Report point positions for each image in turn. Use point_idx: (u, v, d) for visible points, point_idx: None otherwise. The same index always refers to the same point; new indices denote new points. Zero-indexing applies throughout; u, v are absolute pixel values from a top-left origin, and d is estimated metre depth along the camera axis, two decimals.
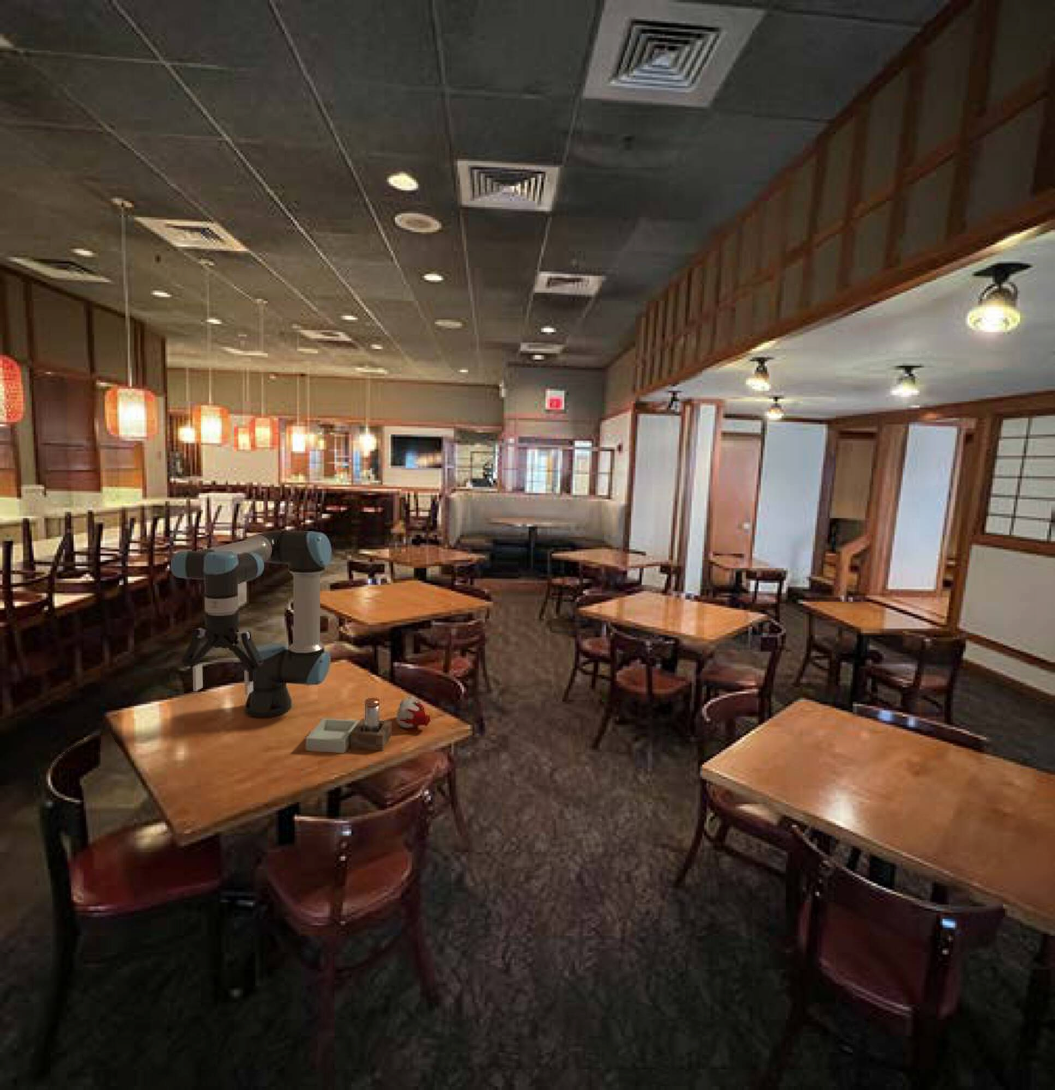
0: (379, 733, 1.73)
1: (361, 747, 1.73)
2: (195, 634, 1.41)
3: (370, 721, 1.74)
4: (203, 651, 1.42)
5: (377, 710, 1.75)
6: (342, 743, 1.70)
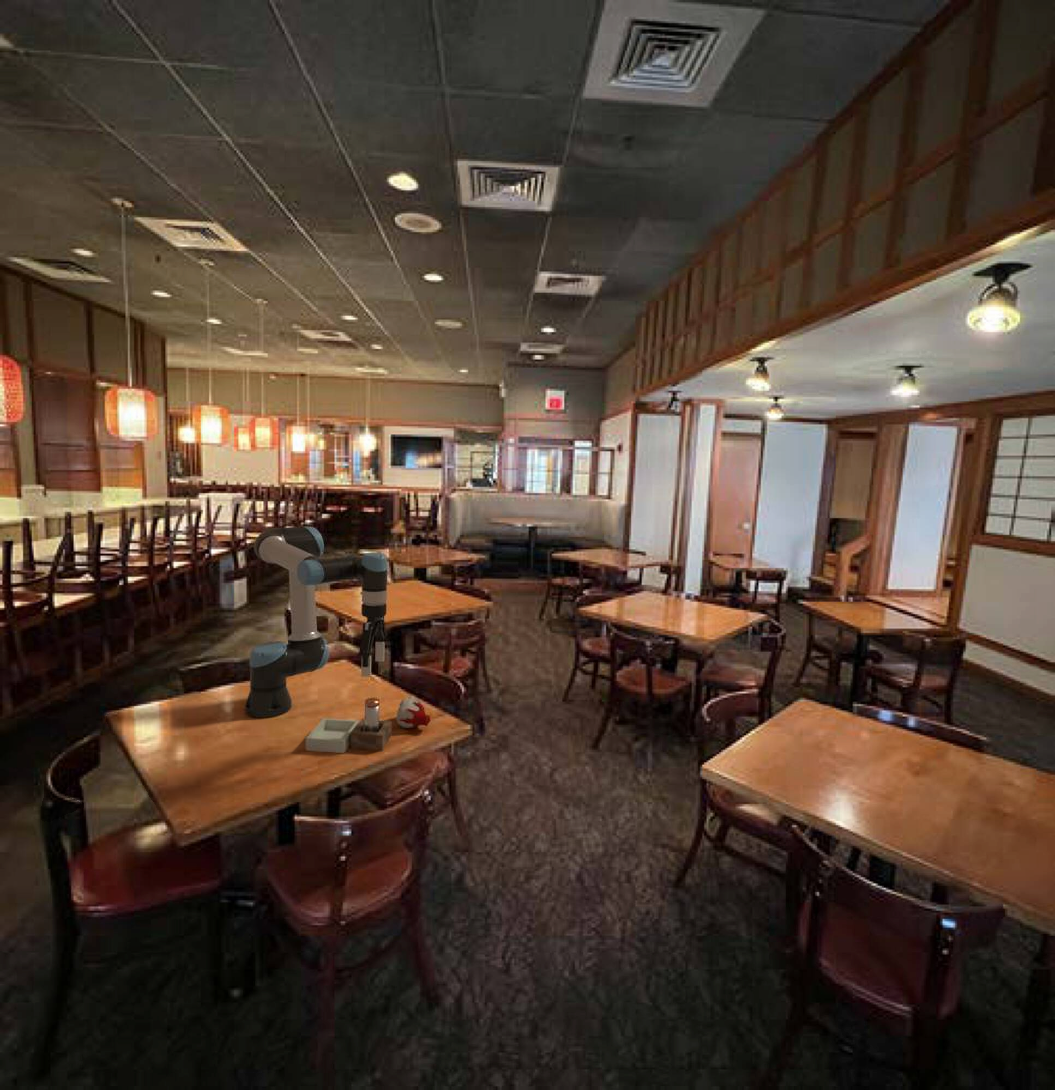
0: (379, 733, 1.73)
1: (361, 747, 1.73)
2: None
3: (370, 721, 1.74)
4: None
5: (377, 710, 1.75)
6: (342, 743, 1.70)
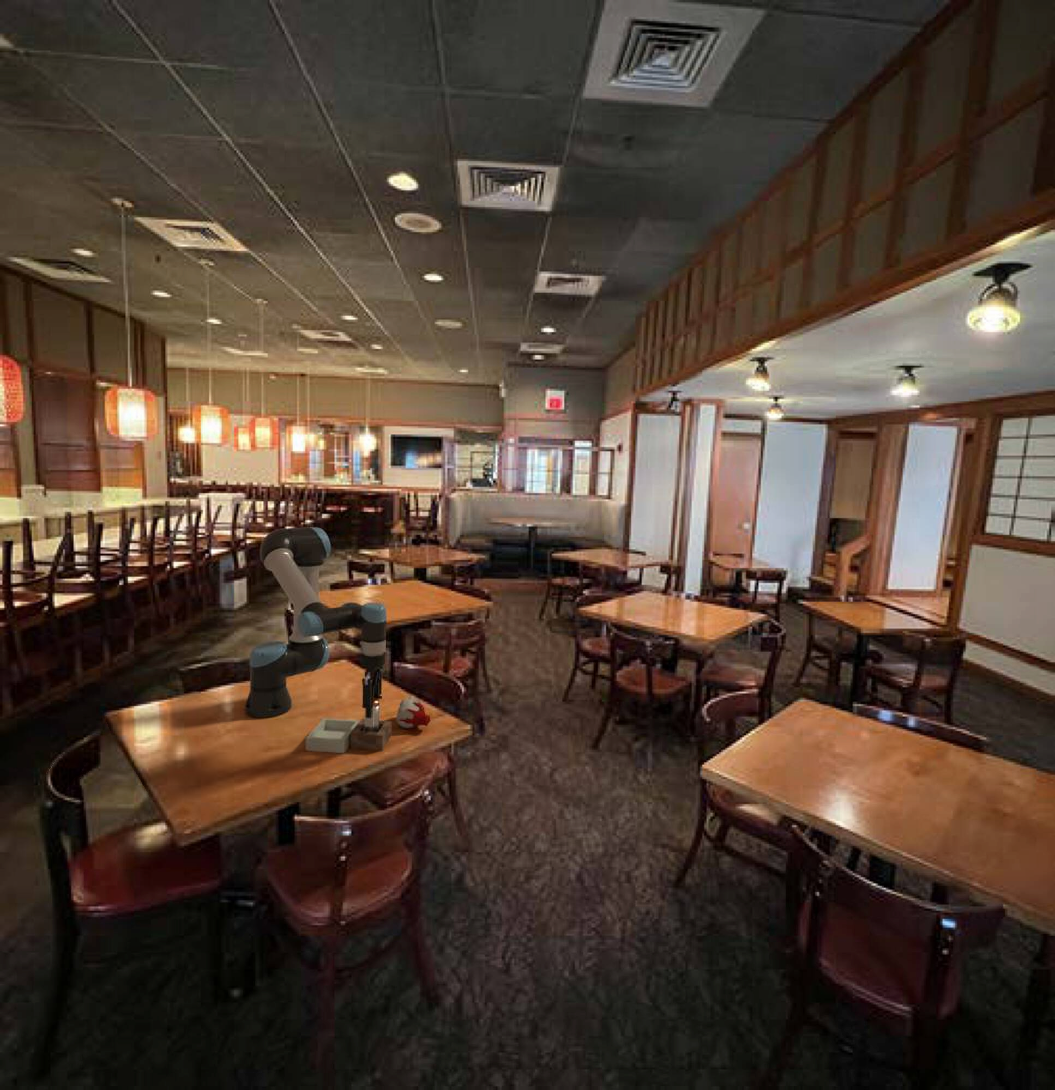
0: (379, 733, 1.73)
1: (361, 747, 1.73)
2: None
3: None
4: None
5: (377, 710, 1.75)
6: (342, 743, 1.70)
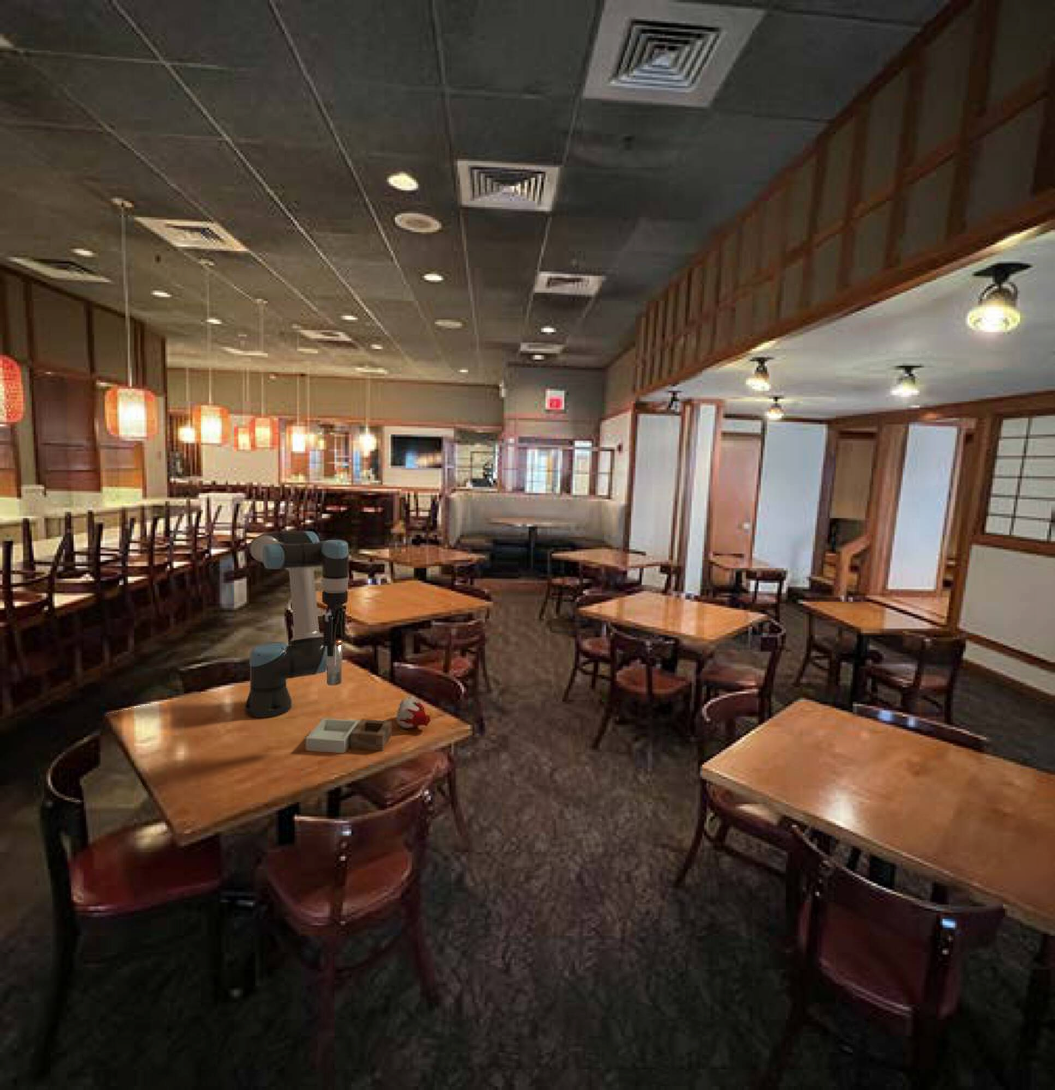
0: (379, 733, 1.73)
1: (361, 747, 1.73)
2: None
3: None
4: None
5: (339, 649, 1.72)
6: (342, 743, 1.70)
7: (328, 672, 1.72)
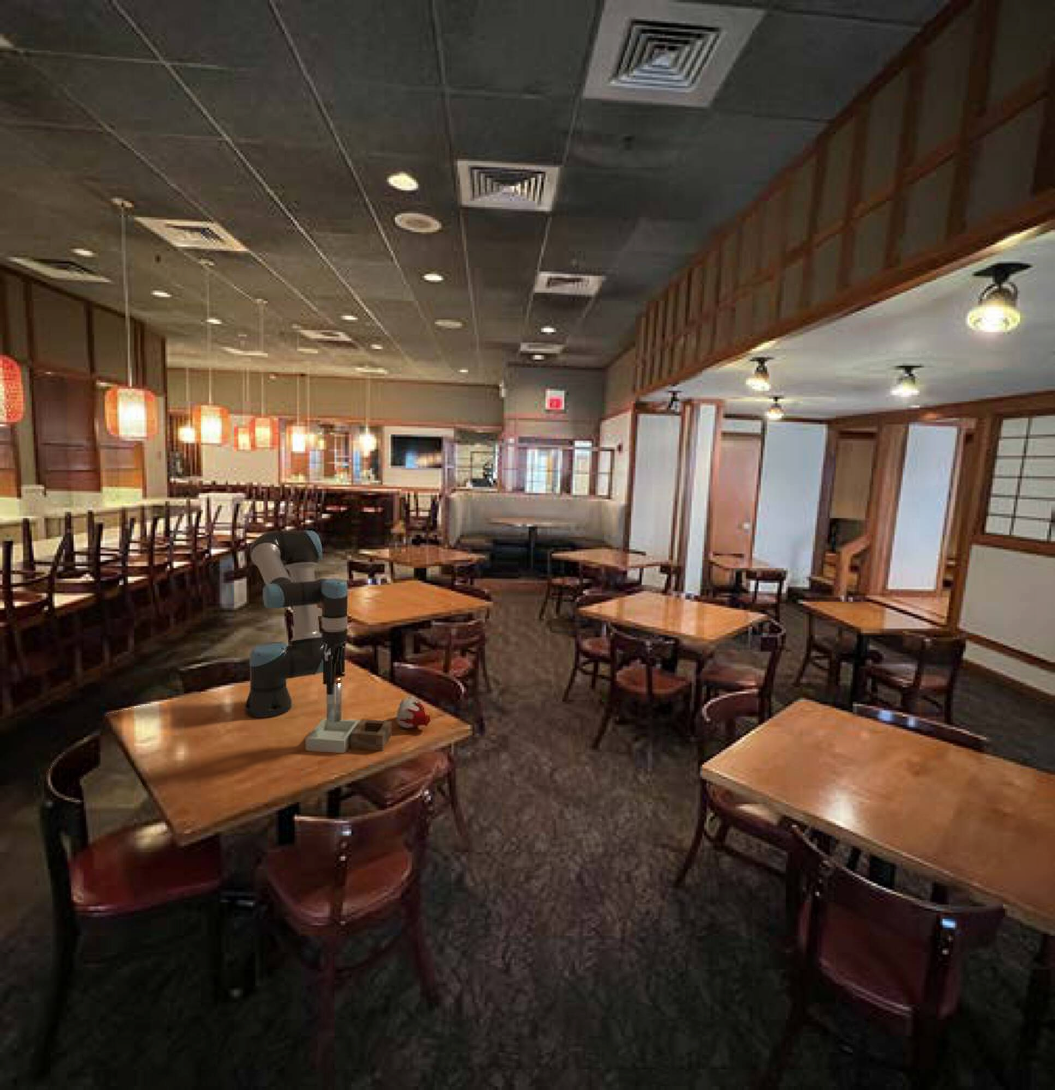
0: (379, 733, 1.73)
1: (361, 747, 1.73)
2: None
3: None
4: None
5: (339, 687, 1.74)
6: (342, 743, 1.70)
7: (328, 709, 1.74)
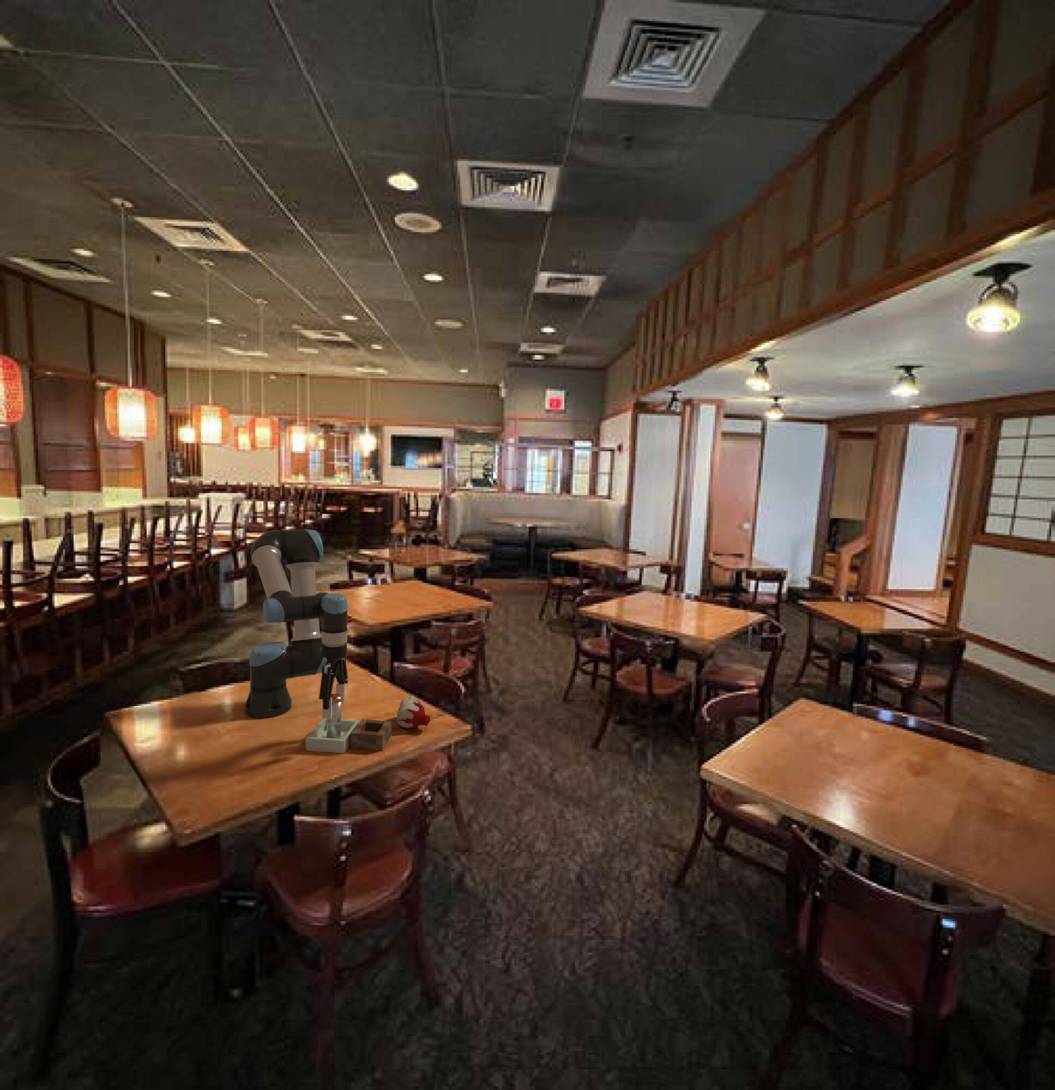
0: (379, 733, 1.73)
1: (361, 747, 1.73)
2: None
3: None
4: None
5: (339, 706, 1.75)
6: (342, 743, 1.70)
7: (328, 728, 1.75)
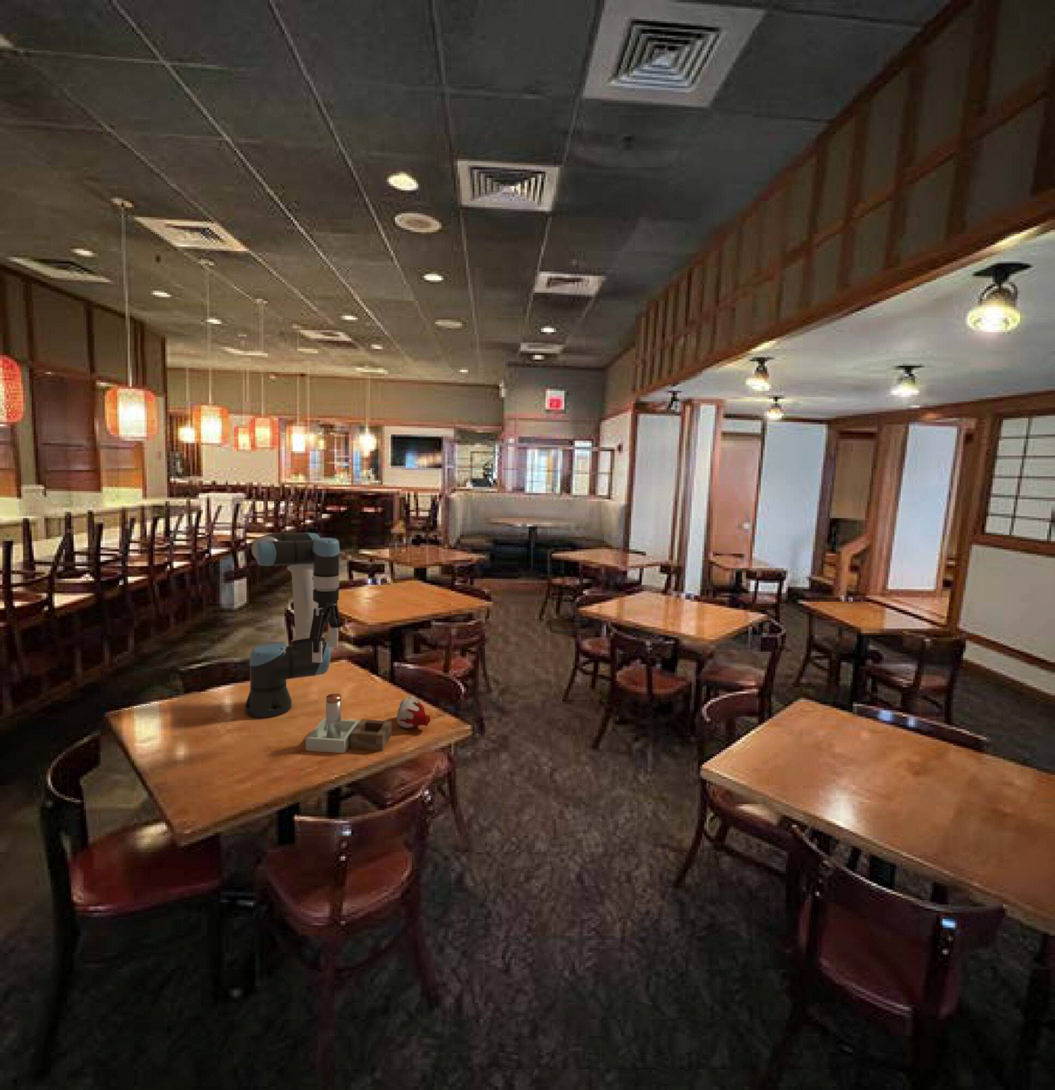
0: (379, 733, 1.73)
1: (361, 747, 1.73)
2: None
3: (331, 717, 1.74)
4: None
5: (338, 706, 1.74)
6: (342, 743, 1.70)
7: (327, 728, 1.75)
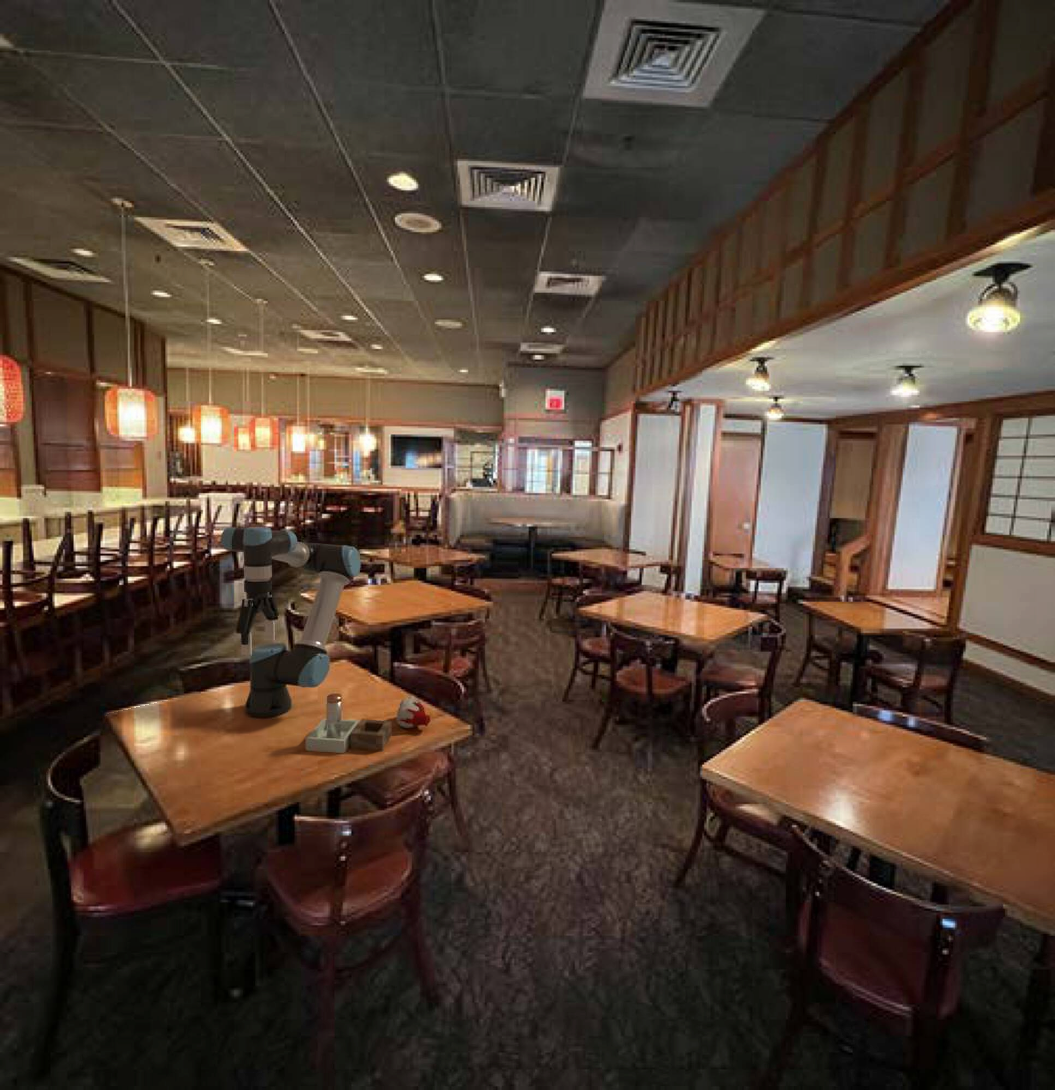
0: (379, 733, 1.73)
1: (361, 747, 1.73)
2: None
3: (331, 717, 1.74)
4: None
5: (339, 706, 1.75)
6: (342, 743, 1.70)
7: (328, 728, 1.75)
